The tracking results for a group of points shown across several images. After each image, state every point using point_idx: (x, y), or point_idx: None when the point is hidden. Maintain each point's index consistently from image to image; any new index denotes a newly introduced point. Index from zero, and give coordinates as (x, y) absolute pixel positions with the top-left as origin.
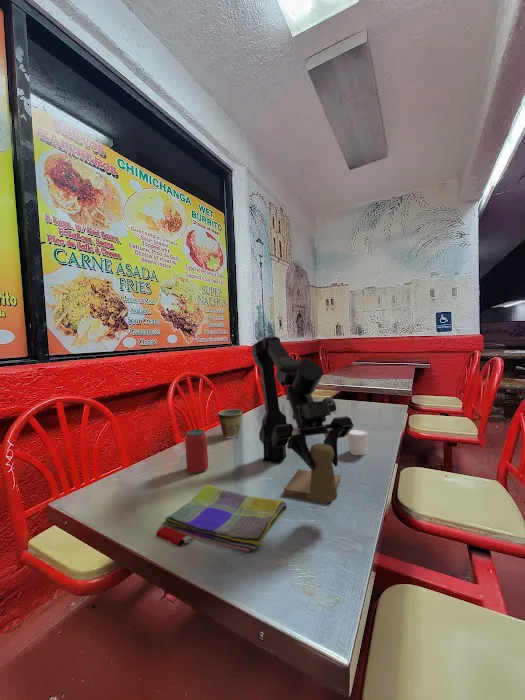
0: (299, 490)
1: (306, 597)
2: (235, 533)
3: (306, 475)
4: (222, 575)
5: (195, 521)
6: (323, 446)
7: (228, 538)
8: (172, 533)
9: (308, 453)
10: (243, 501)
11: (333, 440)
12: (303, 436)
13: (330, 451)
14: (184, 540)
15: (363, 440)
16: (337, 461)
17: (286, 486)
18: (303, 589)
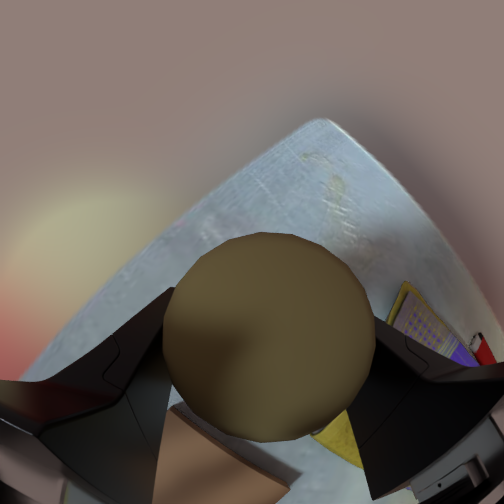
0: (249, 473)
1: (343, 176)
2: (433, 329)
3: None
4: (438, 256)
5: None
6: (285, 294)
7: (441, 320)
8: (488, 357)
9: (385, 332)
10: None
11: (97, 383)
12: (497, 372)
13: (234, 241)
14: (479, 338)
15: None
16: (165, 291)
17: (278, 498)
18: (345, 187)
